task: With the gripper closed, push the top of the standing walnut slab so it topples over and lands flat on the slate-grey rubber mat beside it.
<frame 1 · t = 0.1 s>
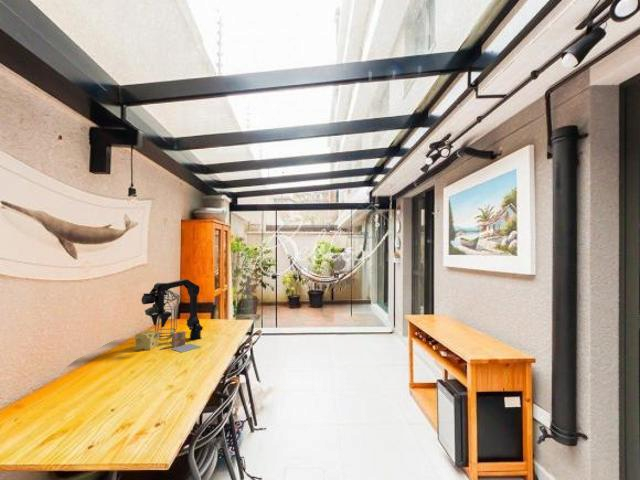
hand: (158, 326, 201), 15 cm above the table, fingers open, 9 cm apart
walnut slab: (178, 345, 207), on the table
cheese: (146, 347, 202), on the table
grey mat: (186, 348, 202), on the table
geometric lantern: (166, 337, 226), on the table
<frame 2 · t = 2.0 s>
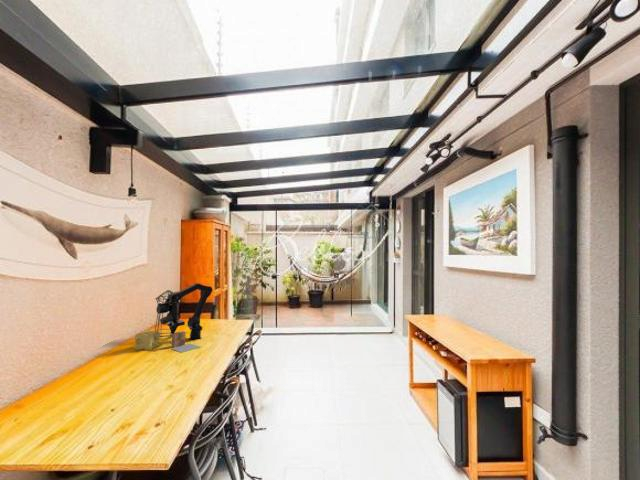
hand: (172, 334, 211), 7 cm above the table, fingers closed
nothing on the table moved.
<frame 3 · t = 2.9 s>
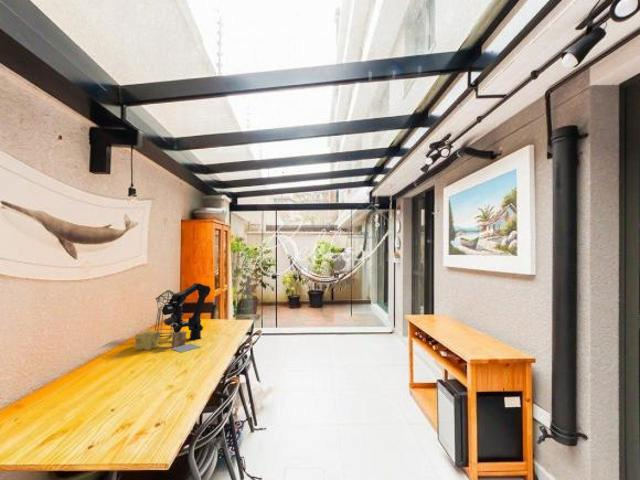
hand: (176, 335, 208), 7 cm above the table, fingers closed
walnut slab: (178, 345, 207), on the table, tilted 6°
everything else where it was.
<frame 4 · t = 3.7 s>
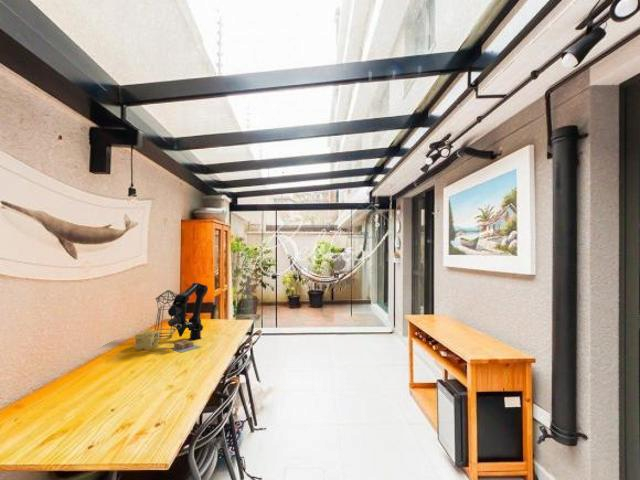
hand: (180, 336, 206), 7 cm above the table, fingers closed
walnut slab: (179, 343, 206), point 2 cm above the table, tilted 90°, touching grey mat
everything else where it was.
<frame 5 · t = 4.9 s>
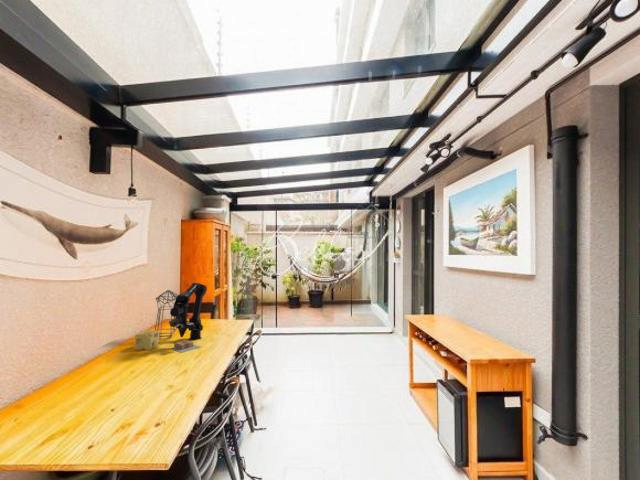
hand: (181, 336, 205), 6 cm above the table, fingers closed
nothing on the table moved.
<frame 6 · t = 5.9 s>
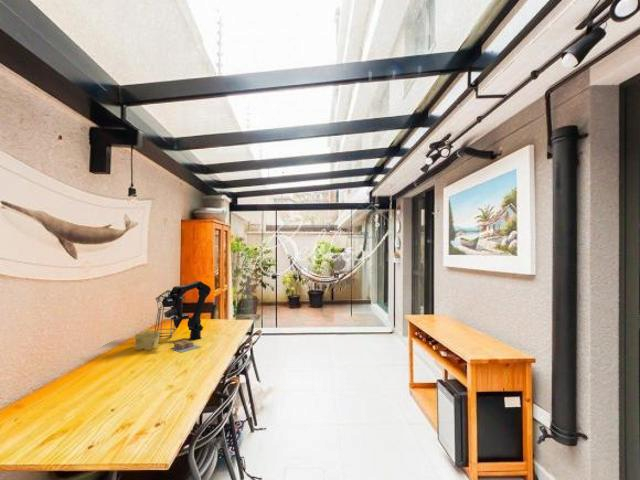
hand: (176, 328, 208), 12 cm above the table, fingers closed
nothing on the table moved.
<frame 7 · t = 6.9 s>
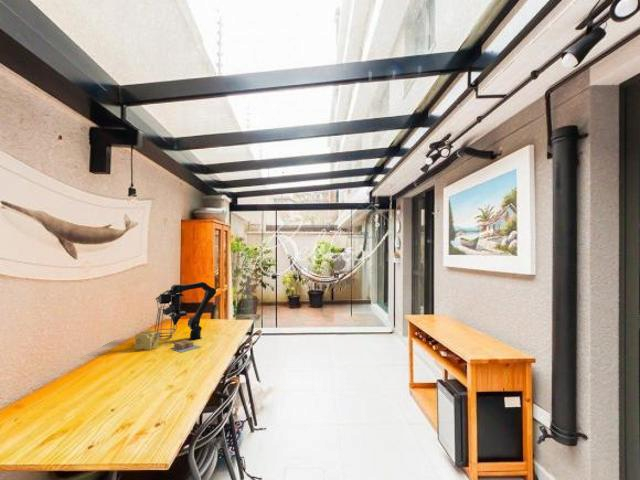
hand: (174, 325, 215), 12 cm above the table, fingers closed
nothing on the table moved.
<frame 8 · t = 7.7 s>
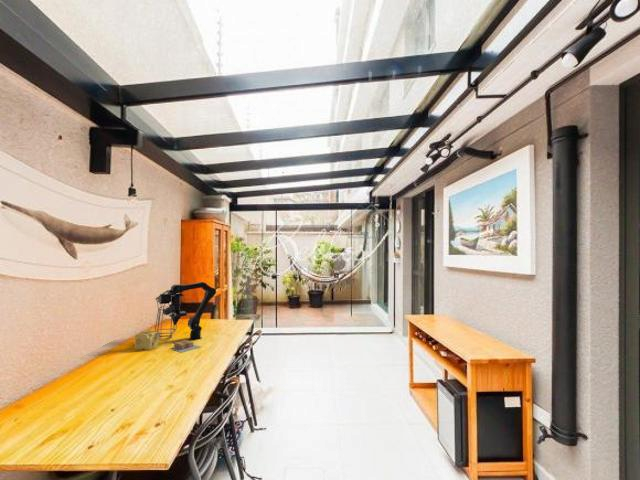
hand: (174, 325, 215), 12 cm above the table, fingers closed
nothing on the table moved.
at the end: walnut slab tilted 90°; walnut slab 7.1 cm from the grey mat (horizontally); walnut slab point 1.8 cm above the table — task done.
